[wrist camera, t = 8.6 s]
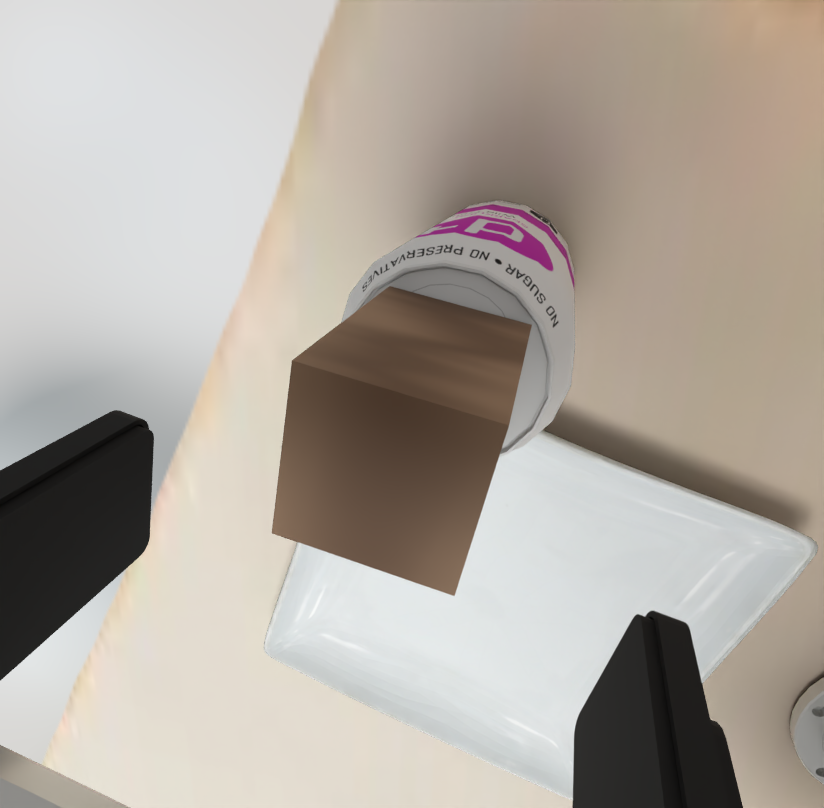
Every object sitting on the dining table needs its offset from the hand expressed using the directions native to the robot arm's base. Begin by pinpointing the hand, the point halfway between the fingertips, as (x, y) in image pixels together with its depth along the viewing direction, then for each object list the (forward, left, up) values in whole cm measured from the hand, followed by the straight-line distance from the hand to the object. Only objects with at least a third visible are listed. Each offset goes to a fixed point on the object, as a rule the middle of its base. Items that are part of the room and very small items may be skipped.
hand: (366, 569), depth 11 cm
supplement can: (+1, 0, -24) cm, 24 cm away
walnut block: (+1, 0, -9) cm, 9 cm away
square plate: (-5, +20, -25) cm, 32 cm away
